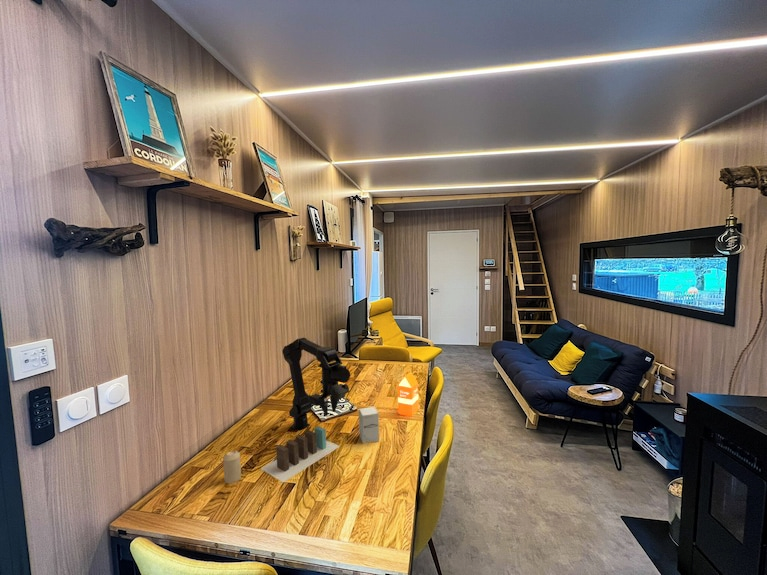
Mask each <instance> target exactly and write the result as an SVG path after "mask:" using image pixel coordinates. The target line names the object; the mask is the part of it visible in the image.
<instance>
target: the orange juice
mask: <svg viewBox="0 0 767 575" xmlns="http://www.w3.org/2000/svg"><path fill="white" fill-rule="evenodd" d="M397 406H398V407H397V408H398V414H399V415H403V416H408V417H414V415H415V414H416V413H417V412H418V411H419V407H420V406H419V382H418V381H417V378H416V377H415V375H414V374H413V372H412V371H409V372H408V373H406V375H404V376H403V378H402V379H401V381H400V382H399V384H398V385H397Z"/></svg>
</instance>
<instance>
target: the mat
mask: <svg viewBox="0 0 767 575" xmlns="http://www.w3.org/2000/svg"><path fill="white" fill-rule="evenodd" d="M339 447H341V446H340V445H337V444H336V443H333V442H331V441H329V440H327V439H326V448H325V449H323V450H322V449H320V448H318V447H317V453H315V454H311V453H309V452H308V458H307V459H305V460H304V459H302V458H300V457H299V464H297V465H293V464H291V463H289V470H287V471H286V472H284V471H283V470H281V469H279V468H277V459H275V460H273V461H271V462H269V463H268V464H266V465H264V466H262V467H261V468H260V470H262V471H263V472H265V473H266V474H268V475H270V476H272V477H273V478H274V479H276V480H277V481H280V482H281V483H285V482H286V481H288V480H290V479H291V478H293V477H295V476H296V475H297V474H299V473H300V472H302V471H304V470H305V469H308V467H310V466H311V465H314V463H316V462H318V461H320V460H321V459H323V458H324V457H326V456H327V455H329V454H330V453H332V452H334V451H335V450H336V449H338V448H339Z"/></svg>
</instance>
